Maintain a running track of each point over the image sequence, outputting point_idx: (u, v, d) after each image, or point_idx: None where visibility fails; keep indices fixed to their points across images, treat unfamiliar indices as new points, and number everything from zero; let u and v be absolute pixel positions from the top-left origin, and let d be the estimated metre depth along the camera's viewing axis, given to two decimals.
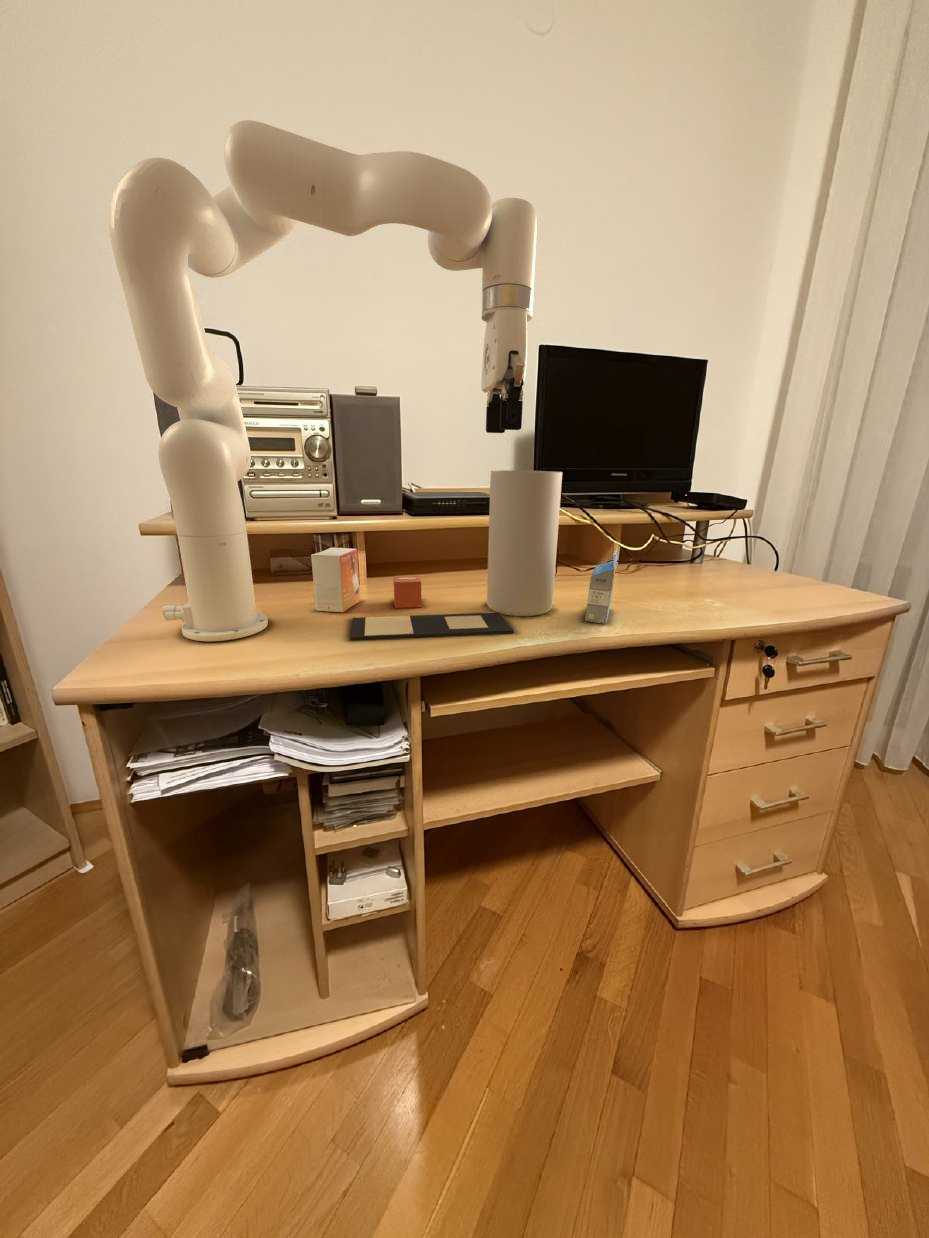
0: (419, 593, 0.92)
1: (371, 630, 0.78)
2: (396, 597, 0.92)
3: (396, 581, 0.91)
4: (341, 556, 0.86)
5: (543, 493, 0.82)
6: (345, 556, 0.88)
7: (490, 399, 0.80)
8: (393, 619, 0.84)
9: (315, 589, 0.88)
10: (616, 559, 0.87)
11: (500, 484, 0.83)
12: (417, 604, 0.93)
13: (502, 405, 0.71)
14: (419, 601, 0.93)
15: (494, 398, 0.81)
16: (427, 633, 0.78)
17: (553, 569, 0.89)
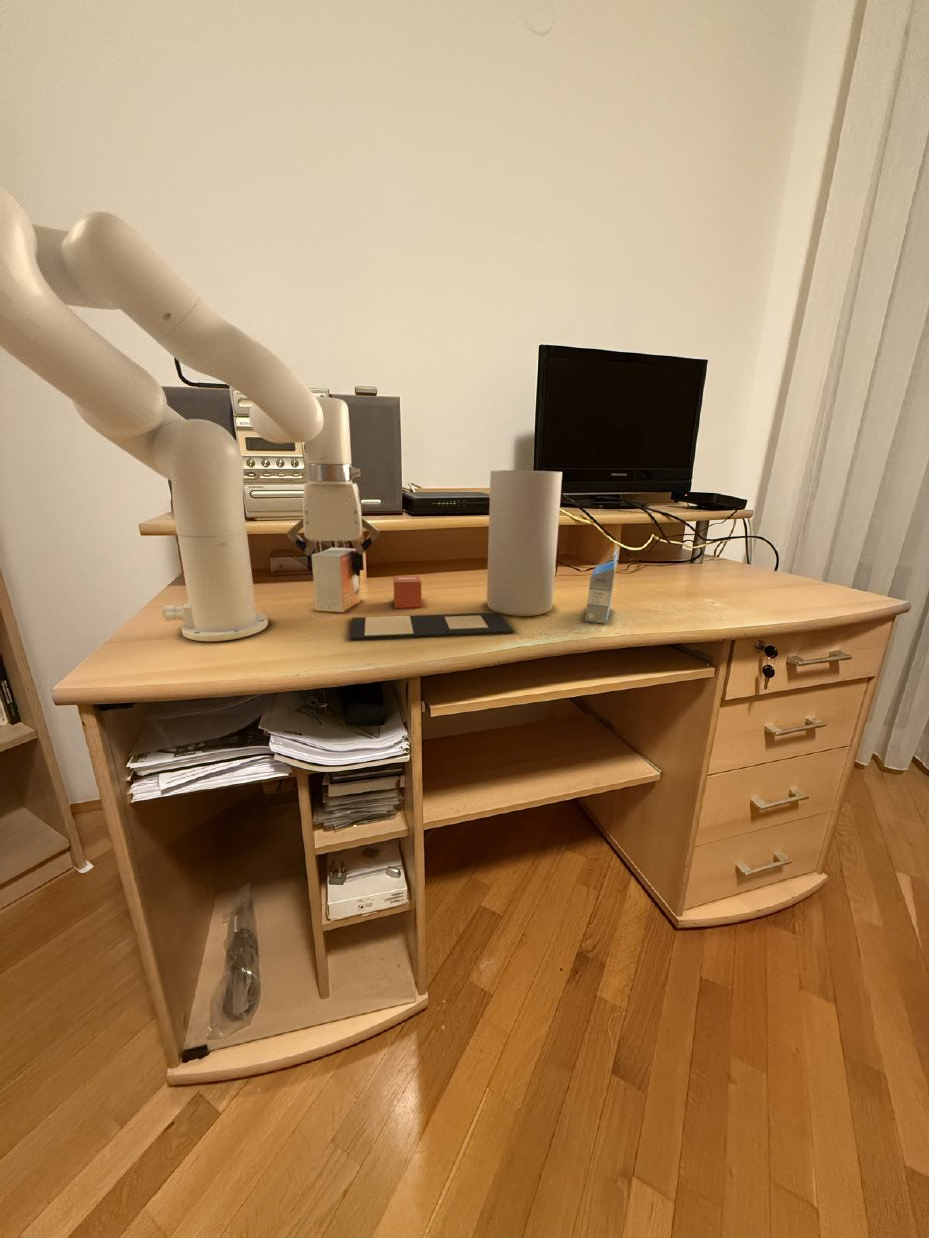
0: (419, 593, 0.92)
1: (371, 630, 0.78)
2: (396, 597, 0.92)
3: (396, 581, 0.91)
4: (341, 556, 0.86)
5: (543, 493, 0.82)
6: (345, 556, 0.88)
7: None
8: (393, 619, 0.84)
9: (315, 589, 0.88)
10: (616, 559, 0.87)
11: (500, 484, 0.83)
12: (417, 604, 0.93)
13: None
14: (419, 601, 0.93)
15: None
16: (427, 633, 0.78)
17: (553, 569, 0.89)
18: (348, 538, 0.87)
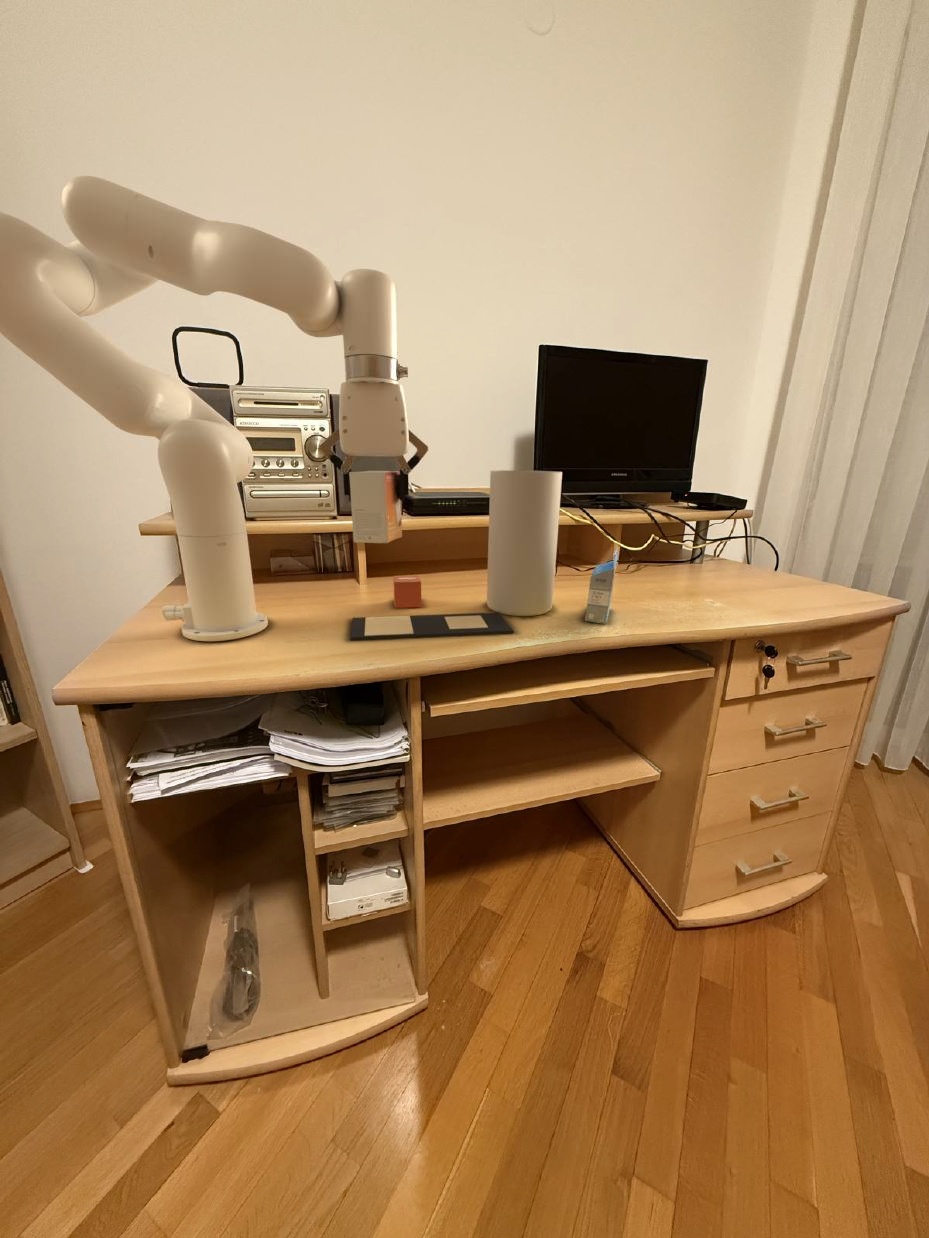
0: (419, 593, 0.92)
1: (371, 630, 0.78)
2: (396, 597, 0.92)
3: (396, 581, 0.91)
4: (386, 473, 0.72)
5: (543, 493, 0.82)
6: (389, 475, 0.73)
7: None
8: (393, 619, 0.84)
9: (353, 515, 0.74)
10: (616, 559, 0.87)
11: (500, 484, 0.83)
12: (417, 604, 0.93)
13: None
14: (419, 601, 0.93)
15: None
16: (427, 633, 0.78)
17: (553, 569, 0.89)
18: (393, 452, 0.73)
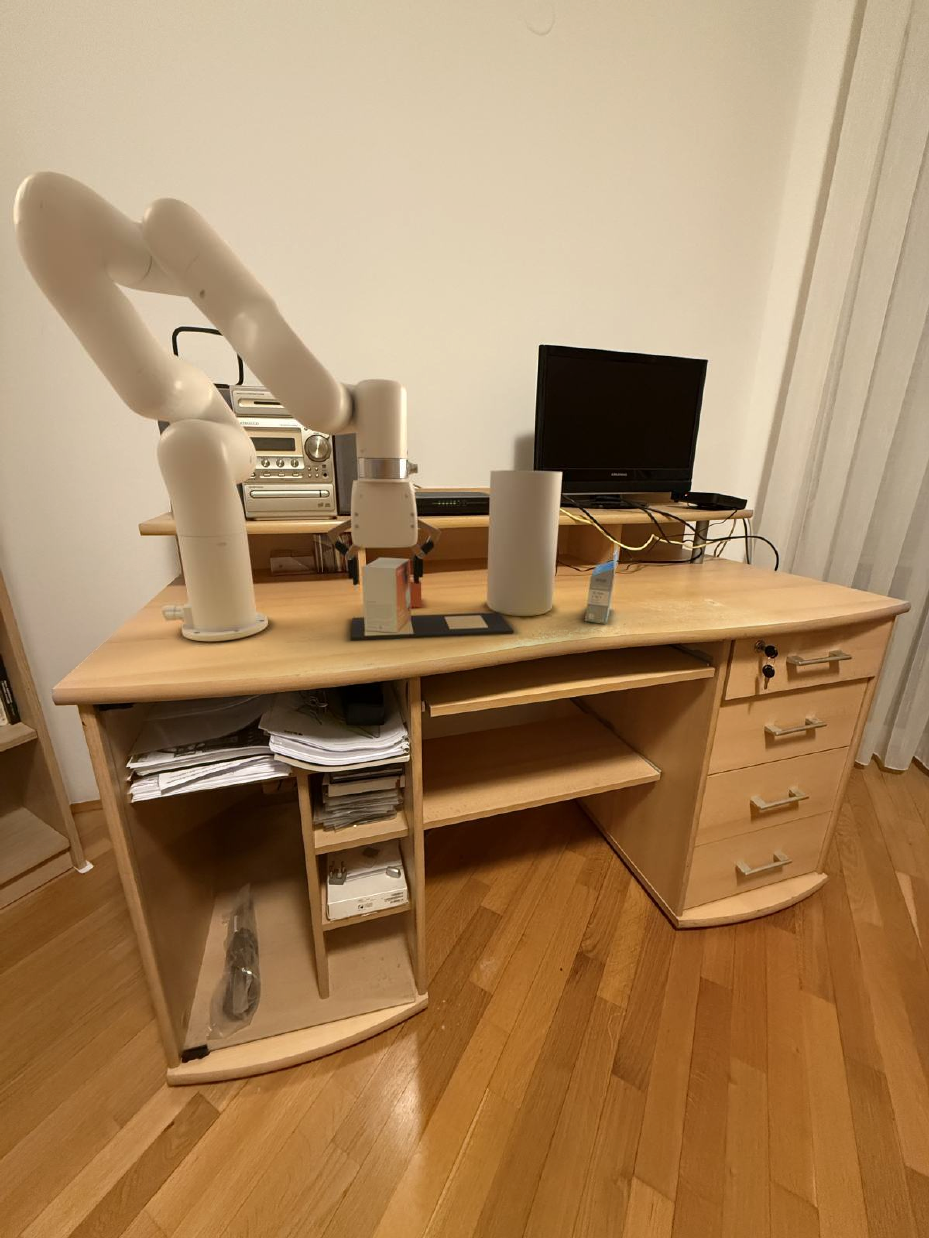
0: (419, 593, 0.92)
1: None
2: None
3: None
4: (397, 568, 0.74)
5: (543, 493, 0.82)
6: (400, 569, 0.76)
7: None
8: None
9: (365, 606, 0.76)
10: (616, 559, 0.87)
11: (500, 484, 0.83)
12: (417, 604, 0.93)
13: None
14: (419, 601, 0.93)
15: None
16: (427, 633, 0.78)
17: (553, 569, 0.89)
18: (403, 544, 0.75)
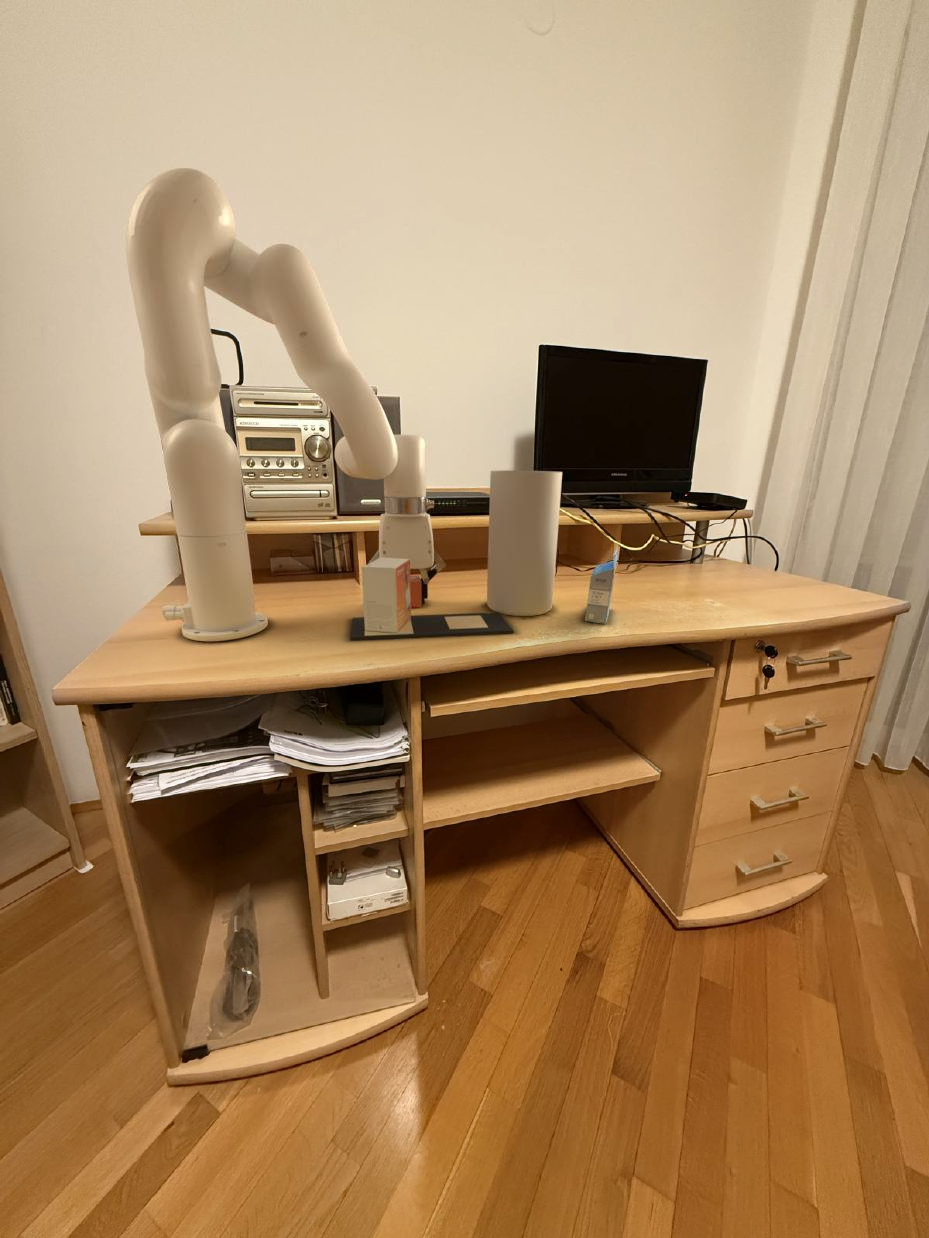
0: (419, 593, 0.92)
1: None
2: None
3: None
4: (397, 568, 0.74)
5: (543, 493, 0.82)
6: (400, 569, 0.76)
7: (420, 573, 0.95)
8: None
9: (365, 606, 0.76)
10: (616, 559, 0.87)
11: (500, 484, 0.83)
12: (417, 604, 0.93)
13: None
14: (419, 601, 0.93)
15: None
16: (427, 633, 0.78)
17: (553, 569, 0.89)
18: (422, 566, 0.91)
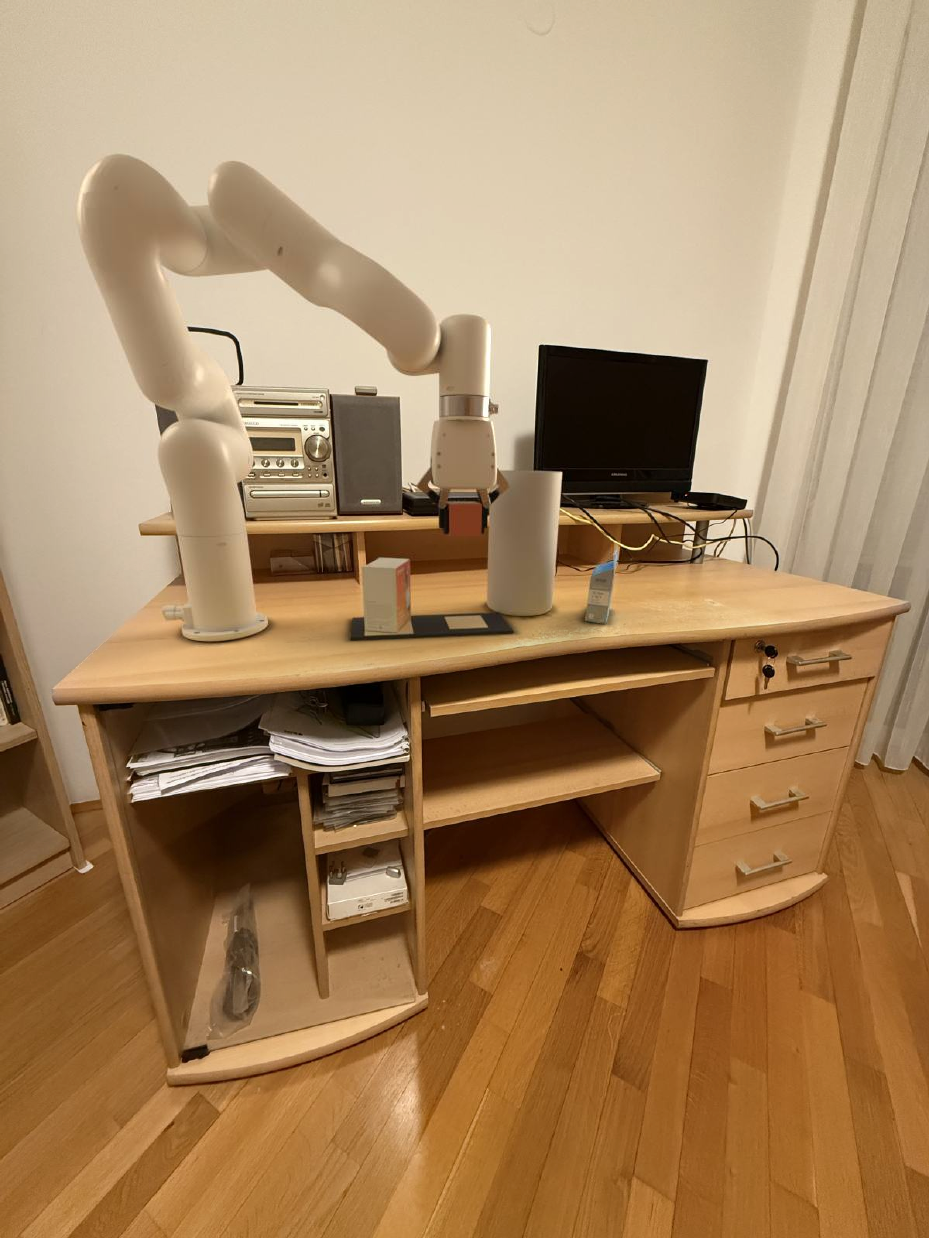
0: (479, 519, 0.77)
1: None
2: (452, 523, 0.76)
3: (452, 504, 0.76)
4: (397, 568, 0.74)
5: (543, 493, 0.82)
6: (400, 569, 0.76)
7: (478, 497, 0.79)
8: None
9: (365, 606, 0.76)
10: (616, 559, 0.87)
11: None
12: (476, 533, 0.77)
13: None
14: (478, 529, 0.77)
15: None
16: (427, 633, 0.78)
17: (553, 569, 0.89)
18: (482, 486, 0.76)
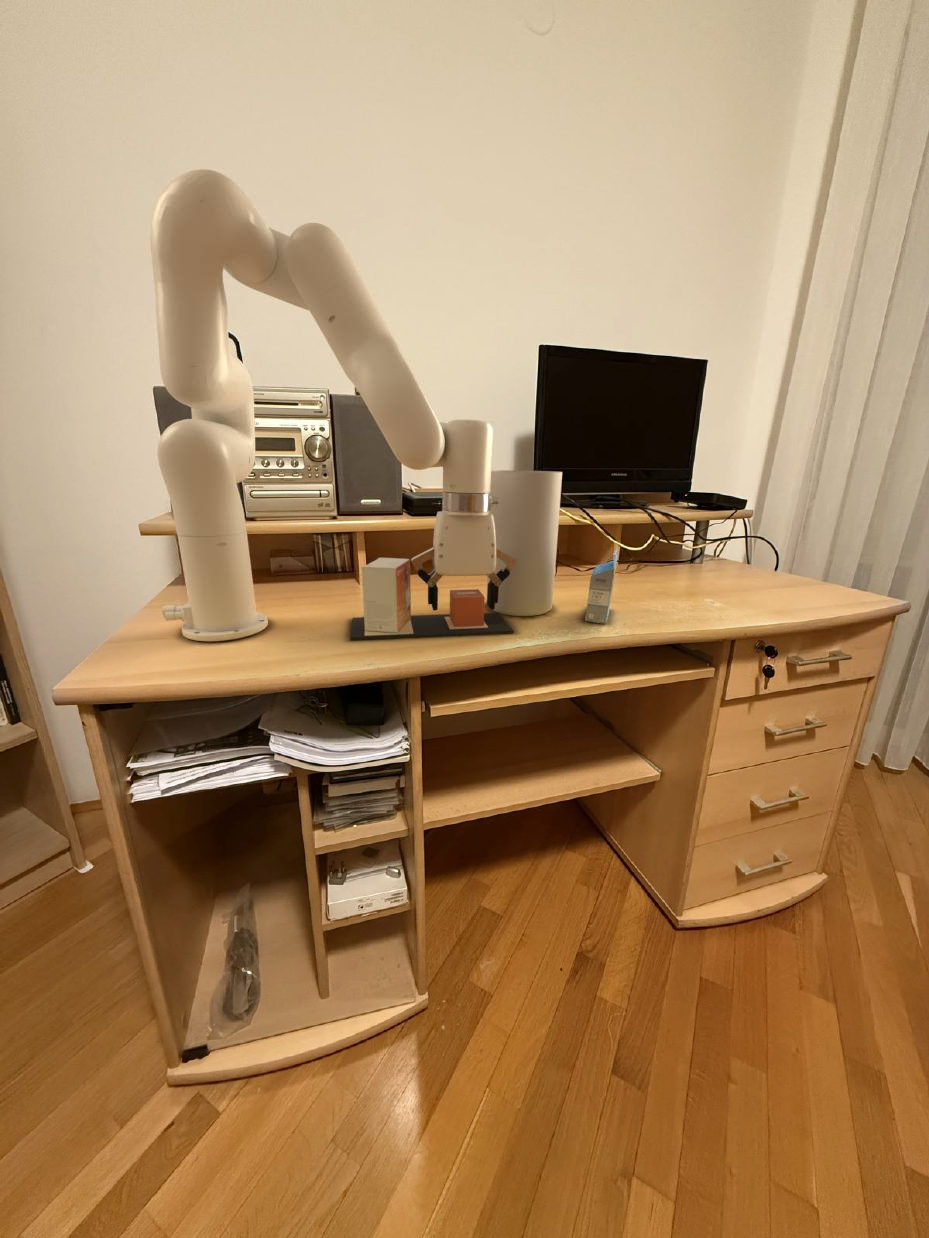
0: (482, 610, 0.80)
1: None
2: (456, 614, 0.80)
3: (456, 596, 0.80)
4: (397, 568, 0.74)
5: (543, 493, 0.82)
6: (400, 569, 0.76)
7: None
8: None
9: (365, 606, 0.76)
10: (616, 559, 0.87)
11: (500, 484, 0.83)
12: (479, 623, 0.81)
13: None
14: (481, 619, 0.81)
15: None
16: (427, 633, 0.78)
17: (553, 569, 0.89)
18: (482, 573, 0.79)
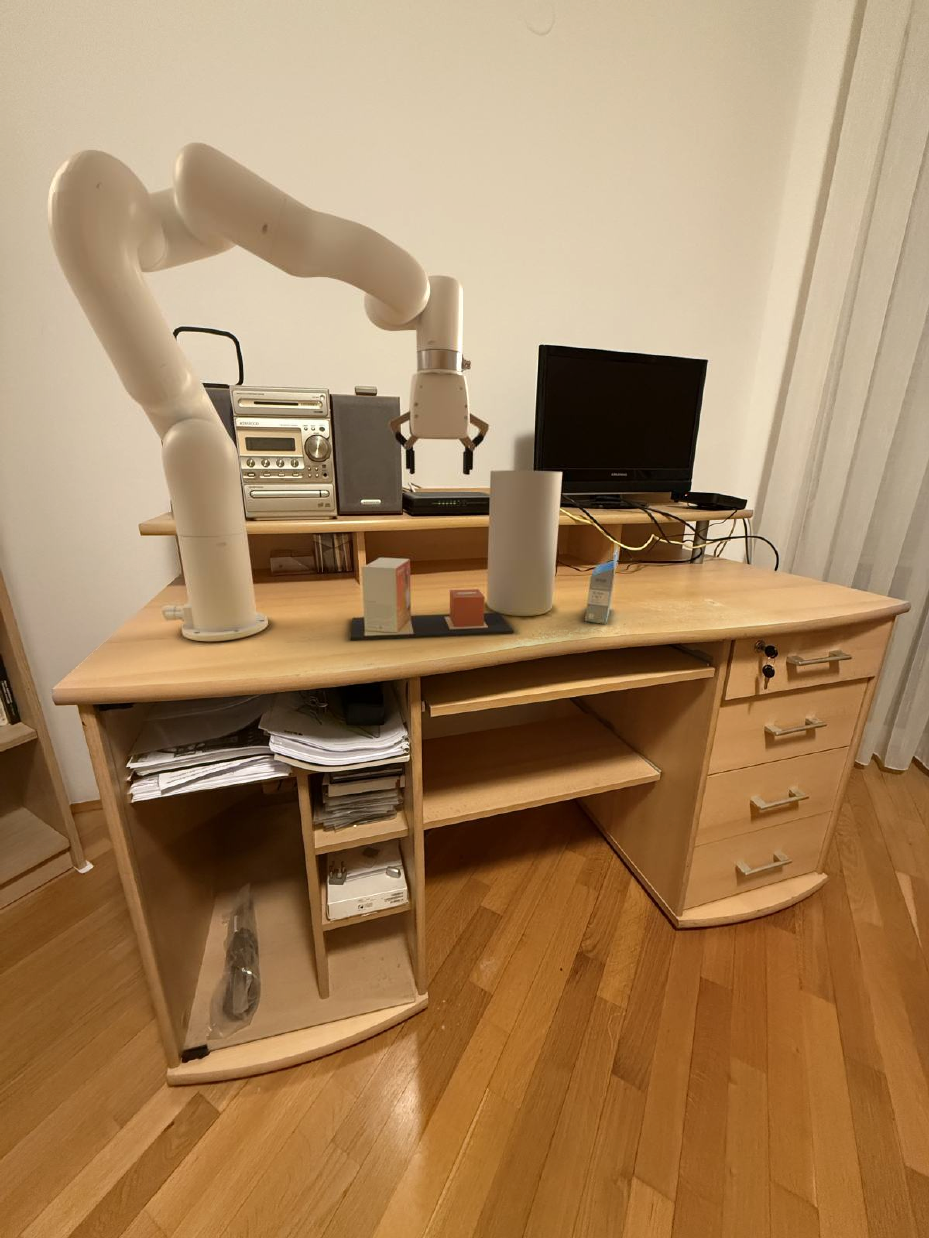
0: (482, 610, 0.80)
1: None
2: (456, 614, 0.80)
3: (456, 596, 0.80)
4: (397, 568, 0.74)
5: (543, 493, 0.82)
6: (400, 569, 0.76)
7: (463, 444, 0.87)
8: None
9: (365, 606, 0.76)
10: (616, 559, 0.87)
11: (500, 484, 0.83)
12: (479, 623, 0.81)
13: None
14: (481, 619, 0.81)
15: None
16: (427, 633, 0.78)
17: (553, 569, 0.89)
18: (456, 435, 0.83)
